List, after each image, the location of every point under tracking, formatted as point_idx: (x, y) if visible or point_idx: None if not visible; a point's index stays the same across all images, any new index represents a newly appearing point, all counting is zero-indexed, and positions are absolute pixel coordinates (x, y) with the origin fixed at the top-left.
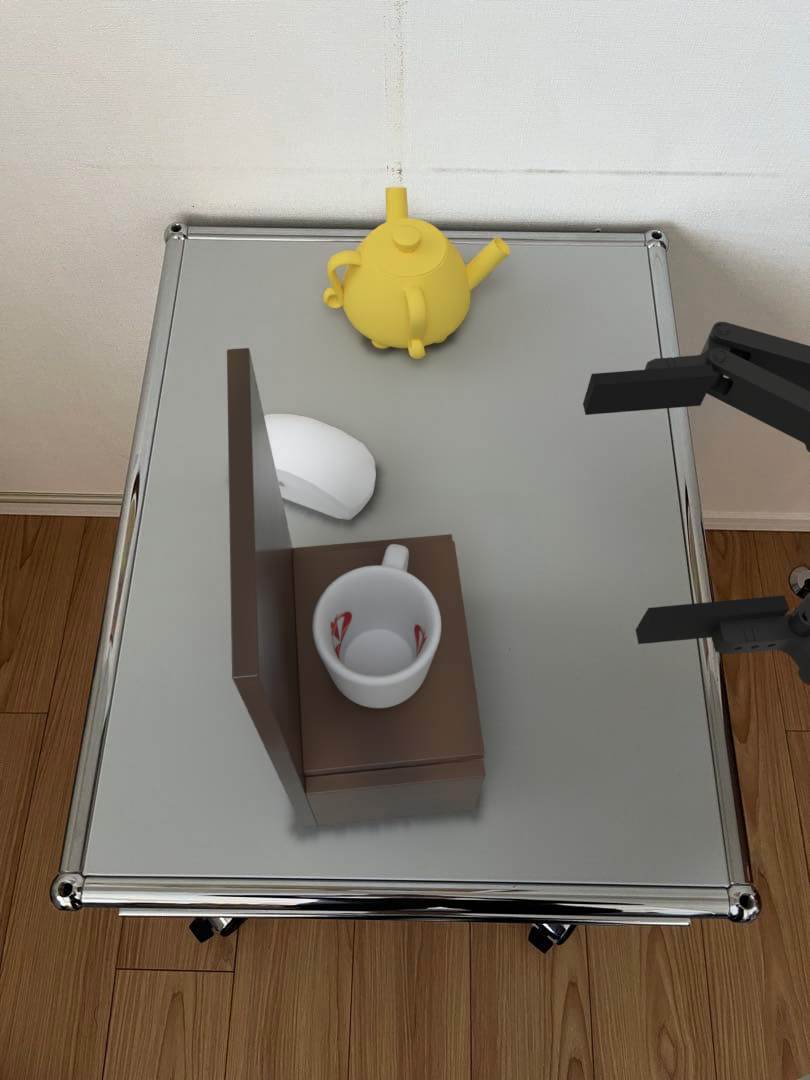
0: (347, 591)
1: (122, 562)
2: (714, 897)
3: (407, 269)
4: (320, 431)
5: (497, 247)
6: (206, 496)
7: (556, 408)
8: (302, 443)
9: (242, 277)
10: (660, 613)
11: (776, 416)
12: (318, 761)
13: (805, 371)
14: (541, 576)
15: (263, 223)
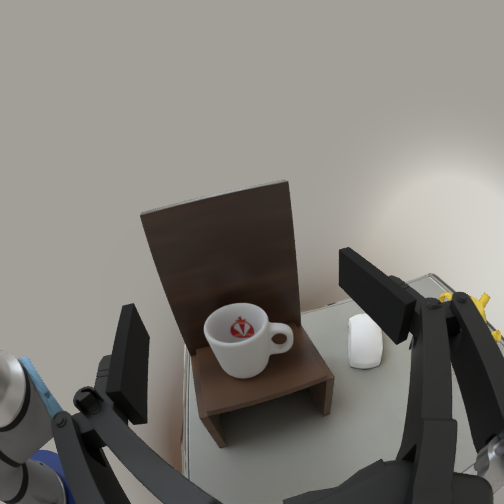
0: (253, 314)
1: None
2: None
3: None
4: (374, 327)
5: (495, 333)
6: (337, 321)
7: (454, 415)
8: (364, 324)
9: (428, 293)
10: (127, 309)
11: (413, 393)
12: (200, 352)
13: (481, 385)
14: (356, 451)
15: (451, 289)
